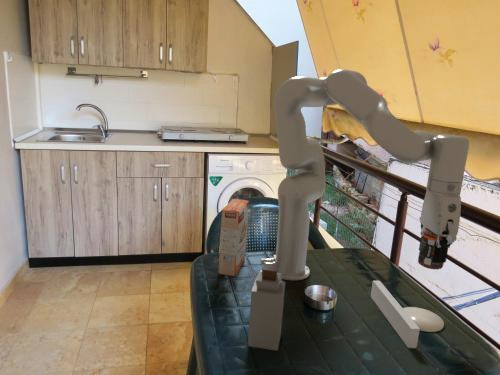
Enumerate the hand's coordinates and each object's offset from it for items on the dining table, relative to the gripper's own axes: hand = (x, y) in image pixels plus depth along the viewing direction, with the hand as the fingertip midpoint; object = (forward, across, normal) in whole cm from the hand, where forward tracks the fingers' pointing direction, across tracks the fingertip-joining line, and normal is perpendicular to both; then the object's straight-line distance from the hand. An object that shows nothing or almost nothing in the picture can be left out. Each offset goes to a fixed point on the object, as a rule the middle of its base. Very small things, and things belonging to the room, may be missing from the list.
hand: (431, 255), depth 103 cm
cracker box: (+18, +30, +48) cm, 59 cm away
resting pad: (+18, 0, 0) cm, 18 cm away
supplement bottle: (+3, 0, 0) cm, 3 cm away
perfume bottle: (+18, -9, +42) cm, 47 cm away
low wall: (+18, 0, +8) cm, 20 cm away
